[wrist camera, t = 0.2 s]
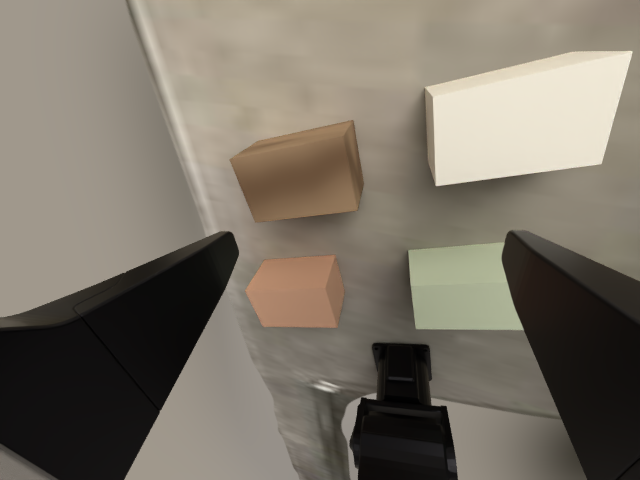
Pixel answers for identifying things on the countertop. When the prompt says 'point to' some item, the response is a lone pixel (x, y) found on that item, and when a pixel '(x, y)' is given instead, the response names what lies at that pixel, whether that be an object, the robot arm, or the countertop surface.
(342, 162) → the walnut brick
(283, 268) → the terracotta brick
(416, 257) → the sage brick
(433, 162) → the off-white brick
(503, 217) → the countertop surface
